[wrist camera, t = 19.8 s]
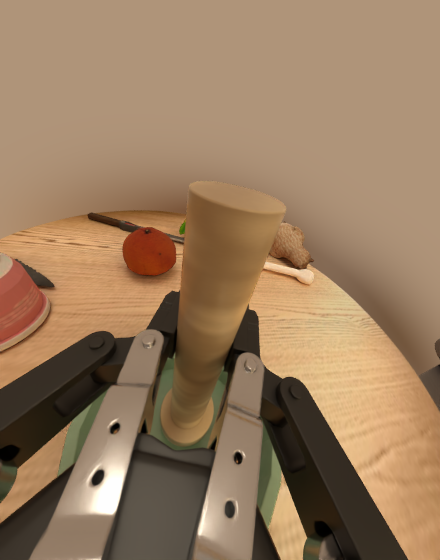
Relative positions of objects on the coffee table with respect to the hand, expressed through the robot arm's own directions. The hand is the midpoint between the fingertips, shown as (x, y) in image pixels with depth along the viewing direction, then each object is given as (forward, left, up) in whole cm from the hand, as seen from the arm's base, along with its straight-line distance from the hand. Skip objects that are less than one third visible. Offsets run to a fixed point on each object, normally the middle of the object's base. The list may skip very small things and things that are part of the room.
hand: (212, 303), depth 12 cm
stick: (0, +3, -11) cm, 11 cm away
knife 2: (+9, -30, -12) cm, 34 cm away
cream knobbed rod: (-2, -28, -13) cm, 31 cm away
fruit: (+15, -16, -13) cm, 26 cm away
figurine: (-4, -44, -8) cm, 45 cm away
